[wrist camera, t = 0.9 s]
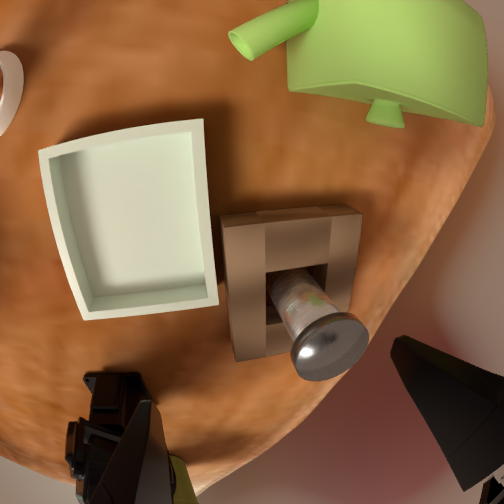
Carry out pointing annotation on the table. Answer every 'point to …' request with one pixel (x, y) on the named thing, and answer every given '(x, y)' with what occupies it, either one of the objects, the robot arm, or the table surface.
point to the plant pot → (182, 483)
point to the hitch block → (283, 267)
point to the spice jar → (315, 326)
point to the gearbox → (380, 55)
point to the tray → (133, 219)
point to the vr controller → (10, 88)
